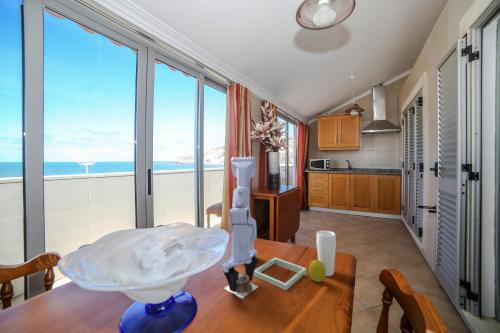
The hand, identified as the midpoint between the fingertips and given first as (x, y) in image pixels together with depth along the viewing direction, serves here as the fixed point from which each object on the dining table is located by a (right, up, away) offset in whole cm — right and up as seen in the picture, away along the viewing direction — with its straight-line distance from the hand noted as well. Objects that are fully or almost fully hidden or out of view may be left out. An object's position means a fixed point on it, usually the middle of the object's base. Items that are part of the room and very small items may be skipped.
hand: (241, 284), depth 68 cm
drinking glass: (+31, -1, +10) cm, 33 cm away
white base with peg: (0, -2, 0) cm, 2 cm away
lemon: (+26, -2, +4) cm, 26 cm away
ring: (0, -1, 0) cm, 1 cm away
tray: (+14, -1, +8) cm, 16 cm away
